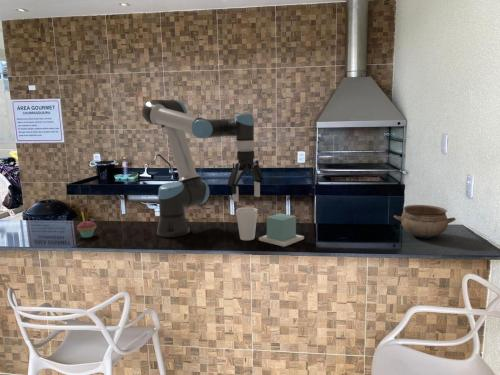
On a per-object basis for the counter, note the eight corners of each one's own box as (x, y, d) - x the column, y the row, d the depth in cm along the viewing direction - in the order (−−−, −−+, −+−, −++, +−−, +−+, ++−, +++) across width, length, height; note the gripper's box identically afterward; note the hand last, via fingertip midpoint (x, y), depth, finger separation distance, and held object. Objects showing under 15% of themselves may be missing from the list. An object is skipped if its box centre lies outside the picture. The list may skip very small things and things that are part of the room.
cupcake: (73, 238, 186) (71, 212, 183) (86, 233, 193) (83, 208, 191) (89, 239, 183) (86, 213, 181) (101, 234, 191) (99, 209, 189)
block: (266, 237, 176) (266, 217, 175) (279, 232, 183) (279, 213, 181) (283, 241, 170) (282, 220, 169) (295, 236, 177) (295, 216, 175)
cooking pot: (394, 241, 171) (396, 213, 169) (391, 229, 189) (392, 203, 187) (459, 244, 165) (461, 215, 163) (449, 231, 183) (451, 205, 181)
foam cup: (232, 238, 181) (231, 209, 178) (248, 233, 186) (247, 206, 184) (246, 242, 173) (245, 213, 171) (262, 238, 179) (261, 209, 177)
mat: (258, 240, 177) (258, 237, 176) (279, 233, 187) (279, 230, 186) (284, 246, 167) (284, 243, 167) (303, 238, 177) (303, 236, 177)
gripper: (258, 148, 185) (259, 193, 188) (218, 152, 167) (220, 202, 170) (271, 148, 179) (271, 195, 183) (230, 153, 162) (232, 204, 165)
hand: (246, 199), depth 177 cm, fingers open, 13 cm apart
